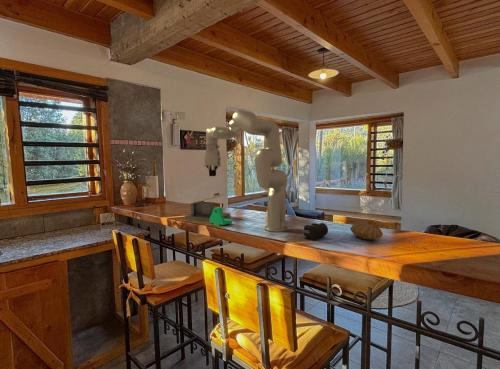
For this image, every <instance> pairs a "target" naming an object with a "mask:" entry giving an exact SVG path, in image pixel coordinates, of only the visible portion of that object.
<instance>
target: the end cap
mask: <svg viewBox="0 0 500 369" xmlns="http://www.w3.org/2000/svg"><path fill="white" fill-rule="evenodd" d="M303 230H304V231H308V232H303V236H304V240H305V241H306V240H307V241H315V240H318V239H322V238H323V237H325V236H326V235H328V233H329V226H327V224H326V223H324V222H322V223H321V222H320V223H315V222H313V223H311V224H306V225H304V226H303Z"/></svg>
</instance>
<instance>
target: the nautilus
mask: <svg viewBox="0 0 500 369" xmlns="http://www.w3.org/2000/svg"><path fill="white" fill-rule="evenodd" d="M349 229H350V231H351V233H352V234H353V235H354V236H356V237H358V238H360V239H362V240H371V241H375V240H377V239H380V238H382V237H383V234H384V233H383V231H382V230H381V228H380V227H378V224H377V222H374V223H373V222H372V221H370V220H369V221H367V220H363V221H357V222H355V223H353V224H352V225H351V226H350V227H349Z"/></svg>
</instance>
